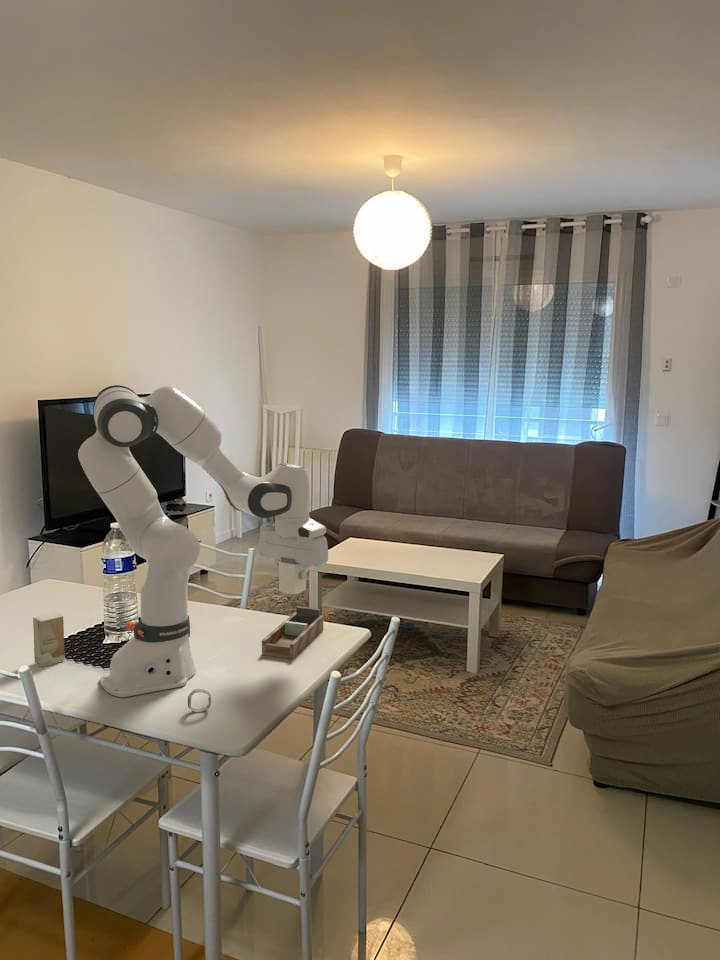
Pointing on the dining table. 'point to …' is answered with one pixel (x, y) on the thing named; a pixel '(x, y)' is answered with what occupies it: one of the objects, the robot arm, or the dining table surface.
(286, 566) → the cream rectangular box
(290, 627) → the plate
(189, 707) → the grey ring
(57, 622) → the skincare box
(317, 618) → the pusher lane
